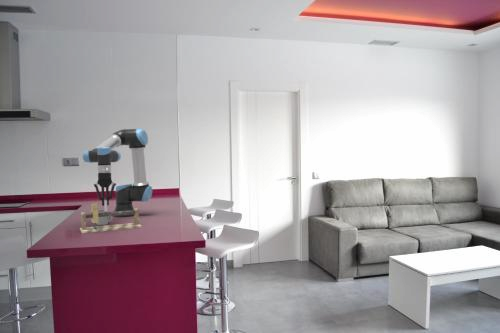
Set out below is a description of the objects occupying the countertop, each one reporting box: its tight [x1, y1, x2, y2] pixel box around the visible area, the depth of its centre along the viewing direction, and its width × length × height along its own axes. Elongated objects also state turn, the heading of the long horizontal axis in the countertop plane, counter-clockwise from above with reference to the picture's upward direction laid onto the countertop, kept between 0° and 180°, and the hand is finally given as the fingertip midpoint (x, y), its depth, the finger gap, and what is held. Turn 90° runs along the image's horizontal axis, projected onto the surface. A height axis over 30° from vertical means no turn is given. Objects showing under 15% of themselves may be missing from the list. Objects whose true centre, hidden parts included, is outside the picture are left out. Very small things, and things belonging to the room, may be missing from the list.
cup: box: [95, 209, 113, 226], centre depth 252 cm, size 7×10×9 cm
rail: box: [79, 208, 142, 234], centre depth 235 cm, size 34×12×11 cm, turn 119°
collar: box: [90, 202, 99, 224], centre depth 231 cm, size 3×8×11 cm, turn 29°
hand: (105, 210), depth 234 cm, fingers closed
